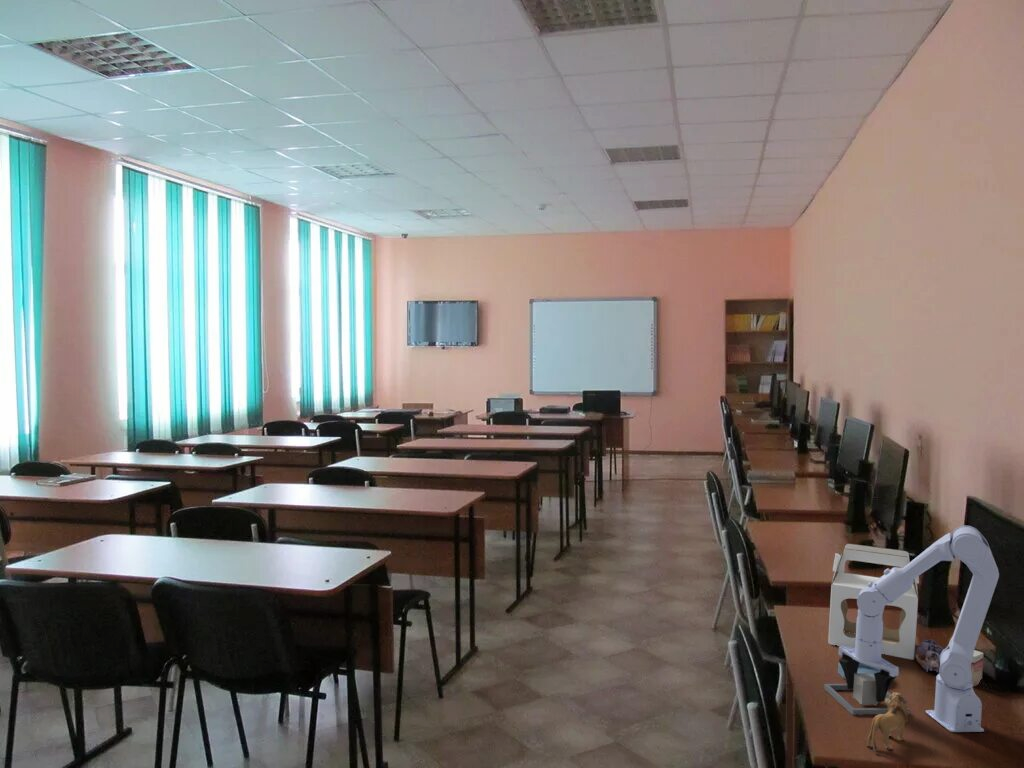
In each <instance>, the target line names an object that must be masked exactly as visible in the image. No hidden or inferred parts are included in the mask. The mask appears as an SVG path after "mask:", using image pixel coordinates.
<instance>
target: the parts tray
mask: <svg viewBox="0 0 1024 768" xmlns="http://www.w3.org/2000/svg"><path fill="white" fill-rule="evenodd" d="M823 689H824V690H825V691H826V693H828V694H829V695H830V696H832V698H833V699H835V700H836V701H837V703H839V704H840V705H842V707H843V708H844V707H845V708H846V709H845V710H847V712H849V713H850V714H851V715H852V716H857V715H856V714H861V715H860V716H864V715H863V714H886V713H887V710H888V707H868V708H867V707H860V708H857V707H854V706H852V705H851V703H849V702H848V701H847V700H846V699H845V698H844V697H843V696H841V695H840V693H838V692H837V691H853V689H848V687H847V683H824V687H823ZM890 695H892V694H891V693H890V692H889V691H887V694H886V697H885V699H886V698H889V696H890ZM907 710H908V715H910V710H911V709H910V708H908V707H907Z"/></svg>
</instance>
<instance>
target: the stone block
mask: <svg viewBox="0 0 1024 768" xmlns="http://www.w3.org/2000/svg"><path fill="white" fill-rule="evenodd" d="M852 698H853V699H854V698H855V699H856V700H857V701H858V702H859V703H858V702H857V701H856V700H855V699H854V700H855V701H856V702H857V703H858V704H859V705H861V704H862V705H861V706H867V705H866V704H878V705H879V702H877V701H876V680H875V677H874V676H873V675H872V674H871V673H854V688H853V690H852Z"/></svg>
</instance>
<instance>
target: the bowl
mask: <svg viewBox="0 0 1024 768" xmlns="http://www.w3.org/2000/svg"><path fill="white" fill-rule="evenodd" d="M878 672H880V670H878V669H876V668H873V667H871V666H868V665H866V664H863V663H859V666H858V671H857V673H871V674H872V675H873V676H874V673H878ZM838 673H839V674H840V675H841V676H842V677H841V676H840V675H839V674H838ZM837 674H838V675H839V676H840V677H841V678H843V677H844V678H846V677H845V674H844V671H843V669H842V667H841V665H840V663H839V662H838V666H837ZM874 677H875V676H874ZM844 678H843V679H844Z"/></svg>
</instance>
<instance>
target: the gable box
mask: <svg viewBox="0 0 1024 768" xmlns="http://www.w3.org/2000/svg"><path fill="white" fill-rule="evenodd" d="M847 561H855V562H863V563H871V564H876V565H884V566H892V567H897V568H904V567H905V566H906V565H907V564H909V563H910V562H911V561H910V555H909V552H908V551H906V550H901V549H893V548H885V547H880V546H879V547H878V546H870V545H861V544H855V543H846V544H845V546H844V549H843V552H842V553H841V554H840V553H839V552H835V553H834V560H833V564H832V565H833V566H832V572H834V574H833V577H832V581H831V585H830V587H831V588H830V602H829V603H830V606H829V607H830V608H829V622H828V623H829V624H828V638H827V639H828V641H827V643H828V645H831V646H835V645H837V646H836V647H840V646H846V647H849V648H853V649H855V642H856V624H857V622H853V621H850V620H848V617H847V614H848V609H849V607H848V603H847V599H852V600H853V599H855V600H857V599H858V596H859V593H860V591H861V590H862V589H863V588H865V587H869V586H868V583H870V582H872V583H873V582H875V581H876V580H877V579H879V578H880V577H881V576H873V575H867V574H859V573H854V572H846V571H845V568H846V567H845V565H846V562H847ZM919 576H920V575H919ZM919 576H917V577H916V578H915V579H913V585H912V588H911V589H910V590H908V591H907V592H906V593H904V594H903V595H901V596H900V597H899V598H897V599H896V600H895V601H893V602H892V603H890V604H886V605H885V606H892V607H897V608H900V609H901V612H900V614H899V627H898V628H897V629H891V628H888V627H886V626H884V625H883V635H882V652H881V655H884V654H885V656H890V657H896V658H901V659H907V660H911V661H912V660H915V653H916V637H917V636H916V634H917V623H918V621H917V620H918V605H919V604H918V603H919V594H918V593H919V592H918V584H919V583H920V577H919ZM843 631H845V632H843ZM849 632H850V633H849ZM844 633H845V634H844ZM854 633H855V634H854Z"/></svg>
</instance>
